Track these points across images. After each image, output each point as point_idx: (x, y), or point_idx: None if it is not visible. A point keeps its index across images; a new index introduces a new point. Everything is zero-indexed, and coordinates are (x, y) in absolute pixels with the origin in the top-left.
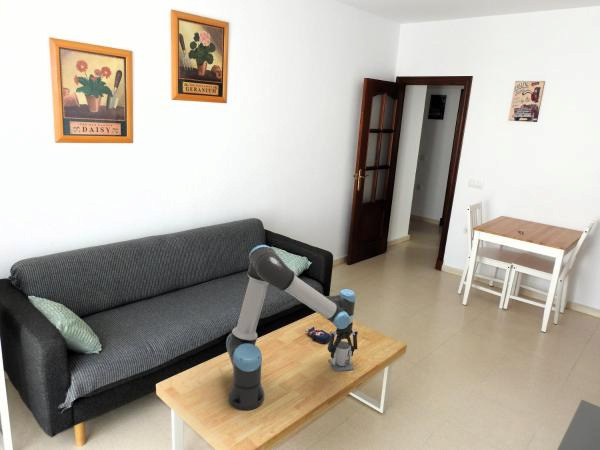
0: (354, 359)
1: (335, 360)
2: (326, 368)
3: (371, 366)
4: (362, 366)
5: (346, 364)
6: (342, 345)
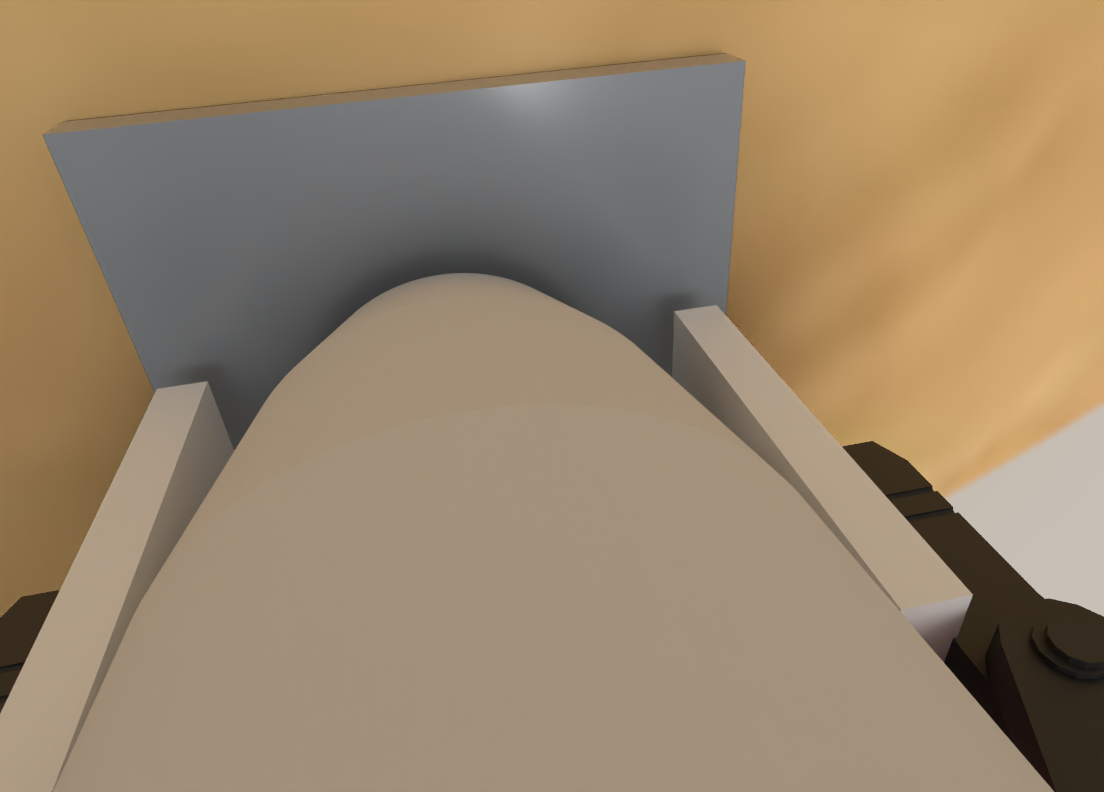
0: (923, 108)
1: (318, 211)
2: (30, 480)
3: (1081, 404)
4: (920, 404)
5: None
6: (704, 580)
